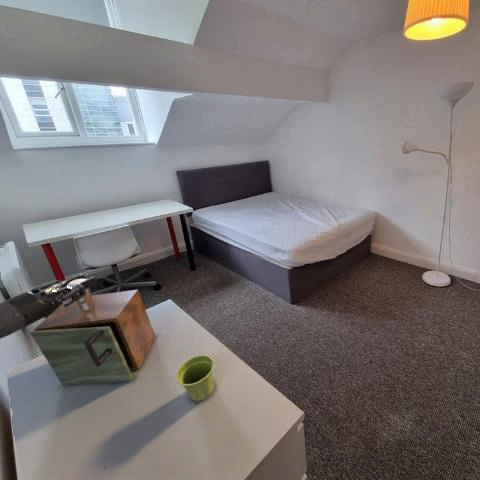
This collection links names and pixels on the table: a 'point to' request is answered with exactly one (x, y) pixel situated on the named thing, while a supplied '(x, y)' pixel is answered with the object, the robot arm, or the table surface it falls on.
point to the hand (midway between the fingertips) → (89, 278)
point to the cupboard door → (83, 355)
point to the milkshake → (86, 300)
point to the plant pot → (197, 376)
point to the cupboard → (110, 322)
